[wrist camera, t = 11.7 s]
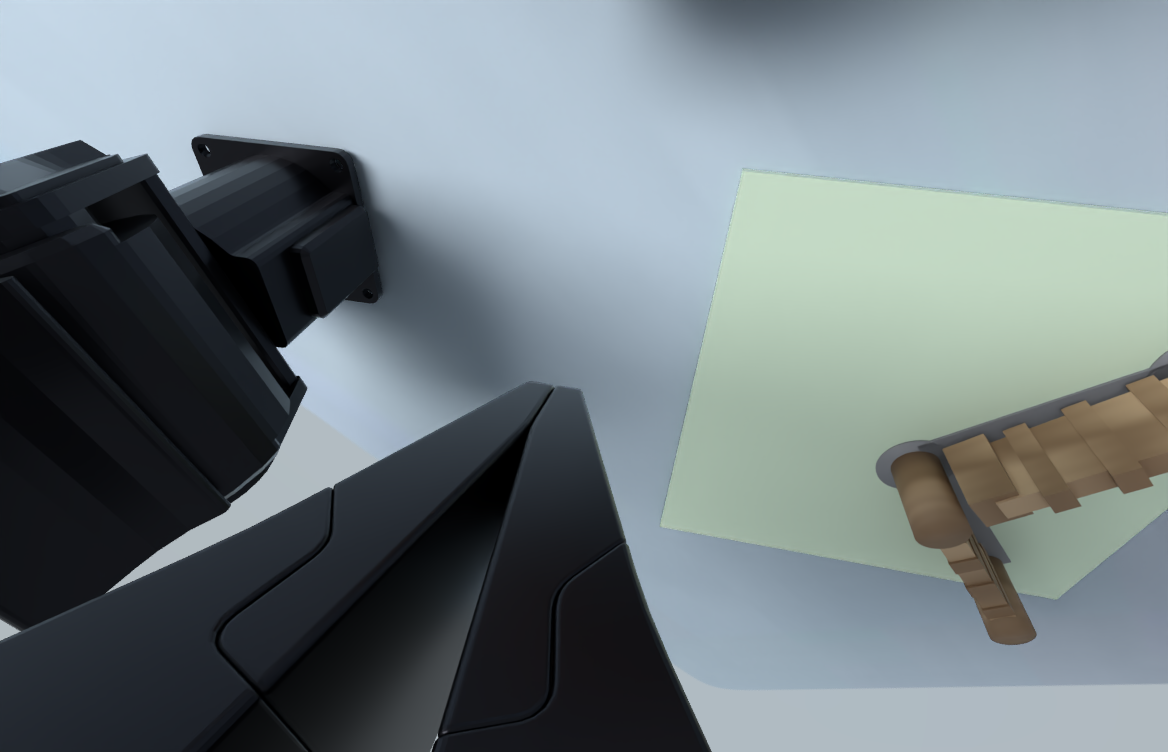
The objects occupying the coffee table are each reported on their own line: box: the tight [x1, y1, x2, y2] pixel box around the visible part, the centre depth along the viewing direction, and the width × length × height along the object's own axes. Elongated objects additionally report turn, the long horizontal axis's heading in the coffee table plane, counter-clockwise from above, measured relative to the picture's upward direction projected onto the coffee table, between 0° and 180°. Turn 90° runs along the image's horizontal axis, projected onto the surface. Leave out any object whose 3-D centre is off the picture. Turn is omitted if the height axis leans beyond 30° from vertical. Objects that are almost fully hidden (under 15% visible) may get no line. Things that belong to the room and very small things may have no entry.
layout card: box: [660, 169, 1168, 600], centre depth 23 cm, size 21×20×1 cm
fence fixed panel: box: [891, 451, 1037, 645], centre depth 24 cm, size 10×2×4 cm, turn 41°
